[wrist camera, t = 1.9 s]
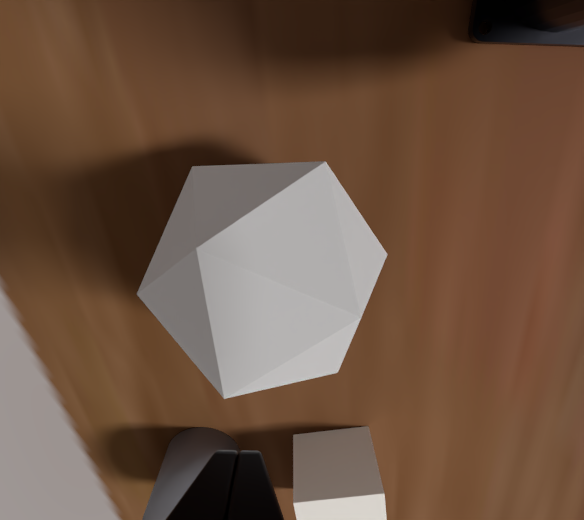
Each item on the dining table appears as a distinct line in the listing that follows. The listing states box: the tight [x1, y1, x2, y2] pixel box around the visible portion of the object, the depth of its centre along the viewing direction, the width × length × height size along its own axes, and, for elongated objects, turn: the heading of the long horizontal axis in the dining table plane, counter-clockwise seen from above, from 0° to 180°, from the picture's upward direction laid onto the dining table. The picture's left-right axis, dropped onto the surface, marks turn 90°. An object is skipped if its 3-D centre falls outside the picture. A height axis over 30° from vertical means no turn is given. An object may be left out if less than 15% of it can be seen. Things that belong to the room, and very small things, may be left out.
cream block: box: [293, 426, 387, 520], centre depth 23 cm, size 4×4×4 cm
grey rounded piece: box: [142, 427, 240, 520], centre depth 23 cm, size 4×4×4 cm
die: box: [137, 161, 387, 399], centre depth 16 cm, size 8×9×10 cm
